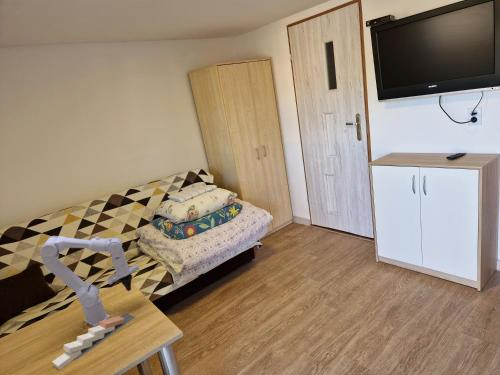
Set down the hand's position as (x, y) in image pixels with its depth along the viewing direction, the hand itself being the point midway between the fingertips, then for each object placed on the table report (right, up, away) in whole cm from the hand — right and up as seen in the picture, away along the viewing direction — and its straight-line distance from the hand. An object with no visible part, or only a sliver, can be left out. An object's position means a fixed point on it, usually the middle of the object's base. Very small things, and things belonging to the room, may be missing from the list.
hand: (128, 289), depth 159 cm
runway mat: (-6, -15, -13) cm, 21 cm away
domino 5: (-1, -11, -6) cm, 13 cm away
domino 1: (-10, -16, -18) cm, 26 cm away
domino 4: (-4, -13, -10) cm, 17 cm away
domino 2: (-13, -18, -21) cm, 31 cm away
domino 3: (-7, -14, -14) cm, 21 cm away
